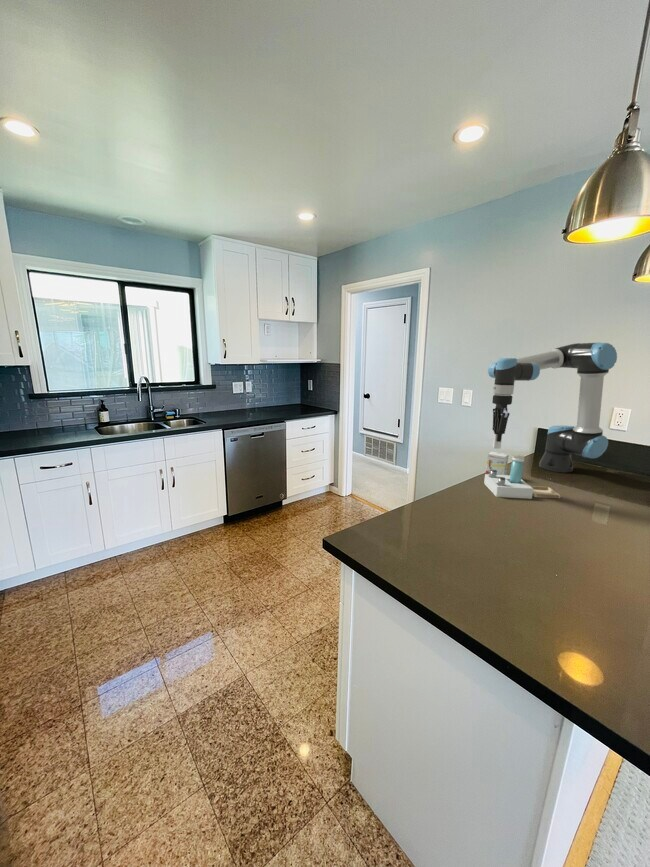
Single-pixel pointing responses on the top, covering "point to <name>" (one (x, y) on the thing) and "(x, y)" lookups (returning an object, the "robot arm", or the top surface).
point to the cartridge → (516, 469)
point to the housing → (508, 487)
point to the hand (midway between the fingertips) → (496, 447)
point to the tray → (544, 492)
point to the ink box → (497, 463)
